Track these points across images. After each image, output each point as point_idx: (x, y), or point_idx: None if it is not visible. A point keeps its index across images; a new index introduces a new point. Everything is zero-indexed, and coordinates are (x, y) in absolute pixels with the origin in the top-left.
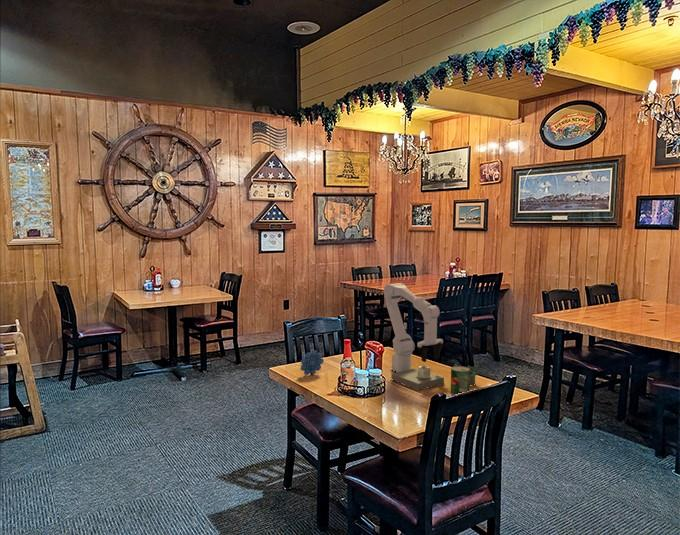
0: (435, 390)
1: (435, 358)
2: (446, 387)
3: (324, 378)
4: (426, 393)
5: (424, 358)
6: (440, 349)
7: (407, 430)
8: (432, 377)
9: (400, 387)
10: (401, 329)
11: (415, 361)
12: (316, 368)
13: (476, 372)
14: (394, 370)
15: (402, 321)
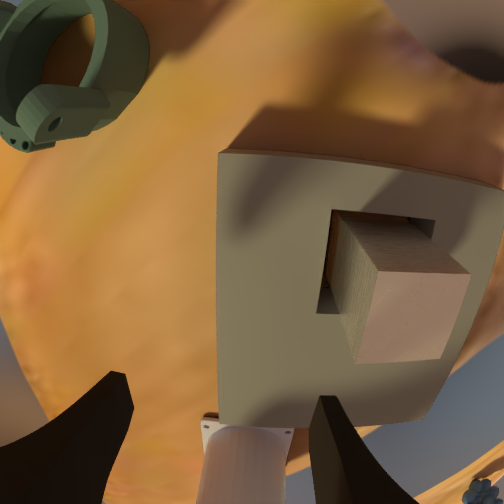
0: (409, 92)
1: (127, 395)
2: (283, 74)
3: (491, 458)
4: (489, 108)
5: (348, 433)
6: (26, 449)
7: None
8: (313, 222)
9: (492, 288)
10: None
11: None
12: (476, 492)
13: (4, 3)
14: (285, 461)
15: None
